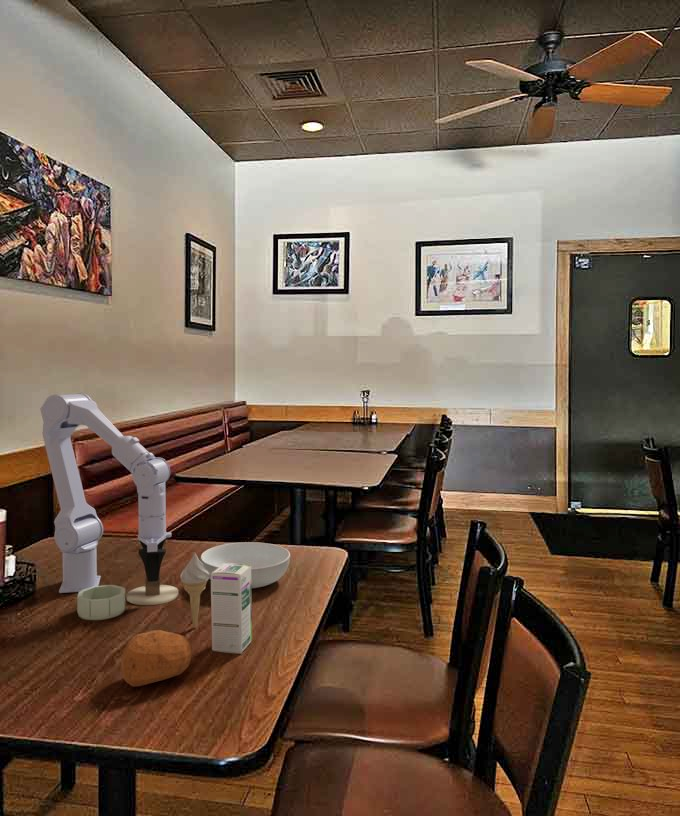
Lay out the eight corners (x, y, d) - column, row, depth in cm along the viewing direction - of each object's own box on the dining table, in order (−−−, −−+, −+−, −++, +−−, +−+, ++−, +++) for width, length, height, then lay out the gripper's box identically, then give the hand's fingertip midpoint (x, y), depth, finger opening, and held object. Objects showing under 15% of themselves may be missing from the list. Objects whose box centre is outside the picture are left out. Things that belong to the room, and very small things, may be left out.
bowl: (80, 605, 136) (80, 587, 135) (125, 602, 138) (125, 583, 138) (75, 622, 127) (75, 602, 127) (123, 617, 129) (123, 598, 129)
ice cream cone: (215, 624, 127) (215, 549, 126) (199, 635, 121) (199, 557, 120) (190, 620, 129) (190, 546, 128) (174, 631, 123) (174, 554, 122)
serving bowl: (182, 590, 146) (182, 560, 145) (231, 564, 165) (231, 538, 165) (263, 604, 138) (263, 572, 138) (304, 575, 157) (305, 547, 157)
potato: (120, 670, 107) (120, 626, 107) (189, 661, 111) (189, 618, 111) (121, 697, 99) (121, 649, 98) (196, 686, 102) (196, 640, 102)
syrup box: (241, 654, 114) (241, 573, 113) (210, 651, 115) (210, 571, 114) (252, 641, 119) (252, 564, 118) (222, 638, 120) (222, 561, 119)
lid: (127, 591, 146) (127, 569, 146) (177, 587, 149) (177, 565, 149) (125, 608, 135) (125, 585, 135) (179, 603, 138) (179, 581, 138)
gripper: (171, 520, 135) (172, 584, 136) (170, 506, 149) (171, 564, 150) (136, 522, 133) (137, 587, 134) (138, 508, 147) (139, 566, 148)
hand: (152, 575), depth 142 cm, fingers open, 7 cm apart
